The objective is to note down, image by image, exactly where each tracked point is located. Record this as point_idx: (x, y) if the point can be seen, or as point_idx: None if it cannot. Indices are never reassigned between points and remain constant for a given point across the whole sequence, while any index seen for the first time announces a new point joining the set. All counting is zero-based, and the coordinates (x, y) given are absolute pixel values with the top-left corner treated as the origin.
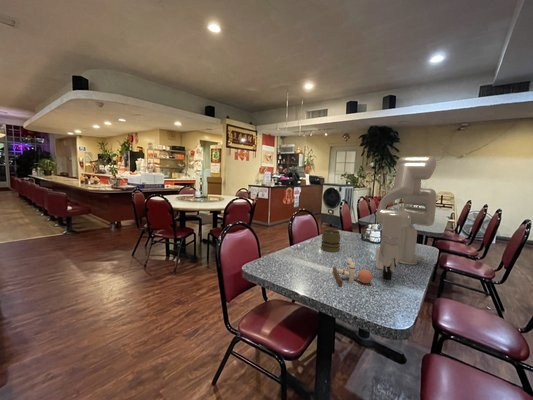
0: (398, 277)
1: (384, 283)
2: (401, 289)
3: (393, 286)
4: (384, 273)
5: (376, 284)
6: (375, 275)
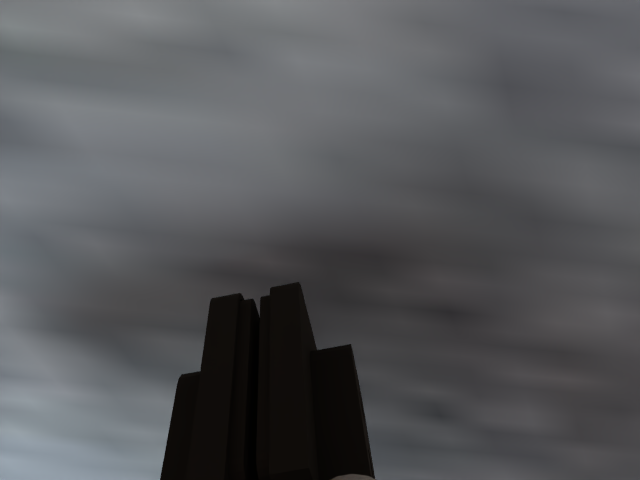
0: (579, 473)
1: (202, 259)
2: (75, 458)
3: (135, 378)
4: (196, 426)
5: (32, 83)
6: (632, 129)
